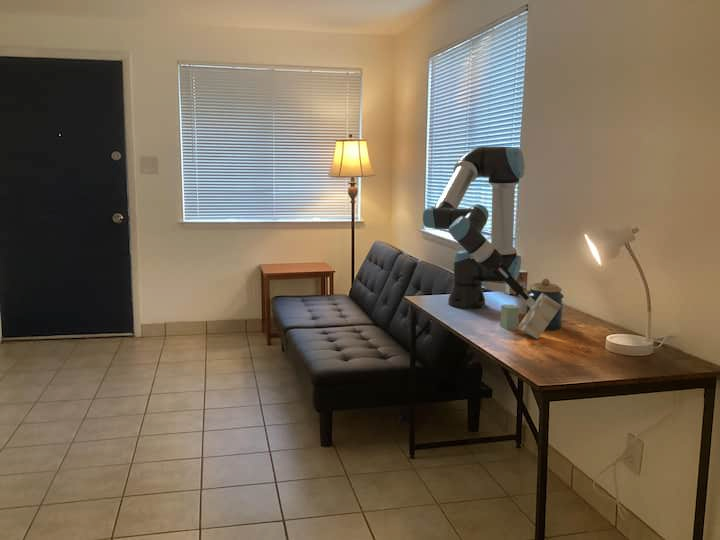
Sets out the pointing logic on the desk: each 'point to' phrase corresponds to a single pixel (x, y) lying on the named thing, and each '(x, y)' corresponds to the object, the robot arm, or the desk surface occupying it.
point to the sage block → (509, 317)
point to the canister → (552, 293)
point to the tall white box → (539, 316)
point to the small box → (519, 282)
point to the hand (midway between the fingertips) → (532, 304)
